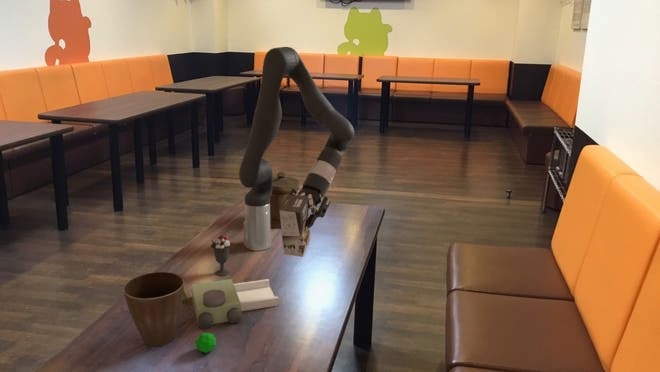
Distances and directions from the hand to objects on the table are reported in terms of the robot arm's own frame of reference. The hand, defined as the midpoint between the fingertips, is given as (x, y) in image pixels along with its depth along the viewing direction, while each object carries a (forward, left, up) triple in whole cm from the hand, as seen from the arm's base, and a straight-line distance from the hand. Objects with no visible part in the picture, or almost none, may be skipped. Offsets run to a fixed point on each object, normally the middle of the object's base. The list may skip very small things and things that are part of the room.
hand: (296, 223), depth 162 cm
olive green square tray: (-28, -26, -24) cm, 45 cm away
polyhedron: (+1, -38, -24) cm, 44 cm away
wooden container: (-45, +45, -24) cm, 68 cm away
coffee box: (0, +1, -8) cm, 8 cm away
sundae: (-29, -4, -23) cm, 37 cm away
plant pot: (-13, -42, -23) cm, 50 cm away
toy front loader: (-9, -17, -23) cm, 30 cm away
